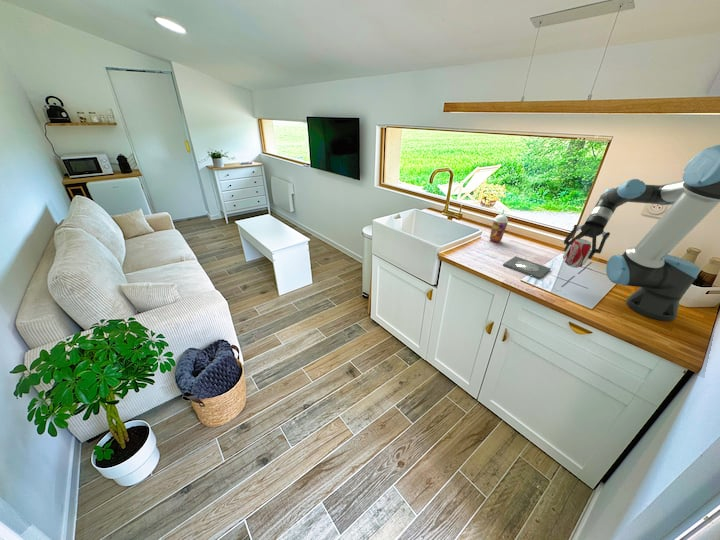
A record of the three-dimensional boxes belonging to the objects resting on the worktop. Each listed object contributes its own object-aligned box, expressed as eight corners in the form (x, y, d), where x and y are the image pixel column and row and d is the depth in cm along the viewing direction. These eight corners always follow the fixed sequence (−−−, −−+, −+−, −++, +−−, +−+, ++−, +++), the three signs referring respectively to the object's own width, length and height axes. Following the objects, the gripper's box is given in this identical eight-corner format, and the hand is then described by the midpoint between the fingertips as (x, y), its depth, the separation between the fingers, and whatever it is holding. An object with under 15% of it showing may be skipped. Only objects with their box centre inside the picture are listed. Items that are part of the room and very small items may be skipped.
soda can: (581, 270, 125) (593, 245, 120) (563, 265, 129) (573, 241, 123) (582, 264, 130) (593, 241, 125) (564, 260, 134) (574, 237, 128)
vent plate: (550, 270, 144) (551, 268, 144) (539, 279, 136) (540, 277, 135) (515, 257, 156) (515, 256, 156) (502, 265, 147) (503, 263, 147)
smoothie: (492, 237, 182) (500, 207, 173) (504, 241, 177) (513, 210, 167) (485, 240, 178) (493, 209, 168) (497, 244, 172) (507, 213, 163)
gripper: (623, 229, 124) (599, 272, 122) (572, 218, 137) (549, 256, 135) (627, 220, 119) (601, 264, 116) (573, 209, 132) (549, 249, 130)
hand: (573, 260), depth 126 cm, fingers closed on soda can, 7 cm apart
